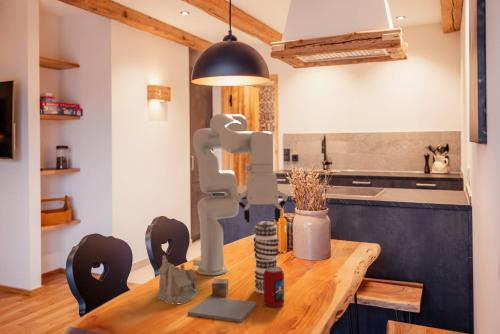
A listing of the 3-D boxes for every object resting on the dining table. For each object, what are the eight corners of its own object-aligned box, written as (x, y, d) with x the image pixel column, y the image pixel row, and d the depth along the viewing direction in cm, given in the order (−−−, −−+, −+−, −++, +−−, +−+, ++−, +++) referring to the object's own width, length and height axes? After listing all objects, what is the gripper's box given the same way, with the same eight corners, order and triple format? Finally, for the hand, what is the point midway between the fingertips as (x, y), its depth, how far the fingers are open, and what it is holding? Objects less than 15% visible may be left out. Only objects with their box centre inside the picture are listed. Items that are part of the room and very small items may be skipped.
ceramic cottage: (168, 306, 148) (169, 261, 148) (151, 294, 162) (152, 253, 162) (210, 300, 156) (211, 257, 156) (190, 289, 170) (191, 249, 170)
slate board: (187, 315, 140) (187, 311, 140) (208, 299, 154) (208, 296, 154) (240, 322, 134) (240, 319, 134) (257, 305, 148) (257, 302, 148)
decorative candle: (261, 295, 157) (260, 225, 156) (249, 288, 165) (248, 221, 164) (283, 291, 161) (283, 223, 160) (271, 284, 169) (270, 219, 168)
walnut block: (212, 297, 157) (211, 283, 156) (214, 292, 162) (214, 278, 161) (226, 297, 156) (226, 283, 156) (228, 292, 161) (228, 279, 161)
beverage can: (282, 308, 145) (282, 272, 144) (262, 307, 146) (261, 271, 145) (285, 301, 151) (285, 266, 151) (265, 300, 153) (265, 265, 152)
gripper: (236, 170, 141) (237, 224, 142) (290, 169, 143) (290, 222, 144) (234, 169, 148) (234, 220, 149) (285, 168, 150) (285, 218, 151)
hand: (262, 221), depth 147 cm, fingers open, 9 cm apart
